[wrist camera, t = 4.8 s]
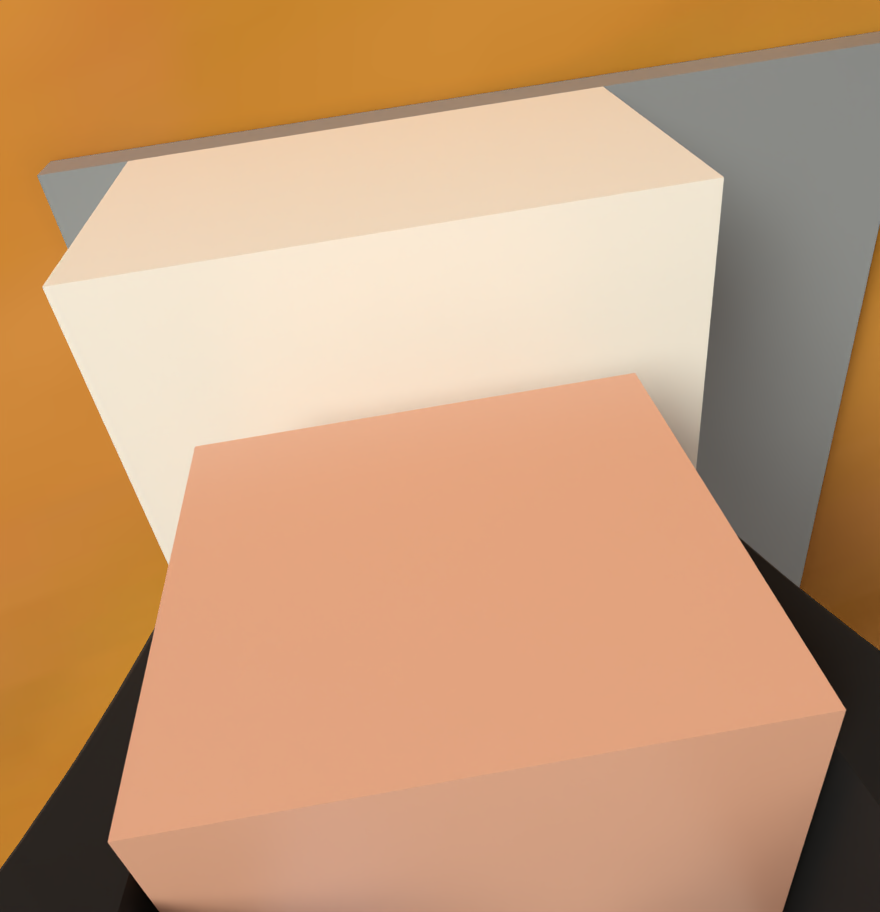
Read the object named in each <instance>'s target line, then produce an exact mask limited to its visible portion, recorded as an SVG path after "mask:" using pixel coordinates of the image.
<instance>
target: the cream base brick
mask: <svg viewBox="0 0 880 912" xmlns="http://www.w3.org/2000/svg"><path fill="white" fill-rule="evenodd" d="M723 183H724V177H723V176H722V175H720V174H719V173H718V172H716V171H715V170H714V169H712V168H711V167H710V166H708V165H707V164H706V163H704V162H703V161H702V160H700V159H699V158H698V157H696V156H695V155H694V154H692V153H691V152H690V151H688V150H687V149H686V148H684V147H683V146H682V145H680V144H679V143H678V142H676V141H675V140H674V139H672V138H671V137H670V136H668V135H667V134H666V133H664V132H663V131H662V130H660V129H659V128H658V127H656V126H655V125H654V124H652V123H651V122H650V121H648V120H647V119H646V118H644V117H643V116H642V115H640V114H639V113H638V112H636V111H635V110H634V109H632V108H631V107H630V106H628V105H627V104H626V103H624V102H623V101H622V100H620V99H619V98H618V97H616V96H615V95H614V94H612V93H611V92H610V91H608V90H607V89H606V88H604V87H596V88H590V89H584V90H577V91H571V92H565V93H558V94H552V95H546V96H539V97H533V98H526V99H520V100H514V101H507V102H501V103H495V104H488V105H482V106H476V107H469V108H463V109H457V110H450V111H444V112H437V113H431V114H425V115H418V116H412V117H406V118H399V119H393V120H387V121H380V122H374V123H368V124H361V125H355V126H349V127H342V128H336V129H329V130H323V131H317V132H310V133H304V134H298V135H291V136H285V137H279V138H272V139H266V140H260V141H253V142H247V143H240V144H234V145H228V146H221V147H215V148H209V149H202V150H196V151H190V152H183V153H177V154H171V155H164V156H158V157H152V158H145V159H139V160H132V161H128V162H127V163H126V165H125V166H124V168H123V169H122V171H121V172H120V174H119V175H118V176H117V178H116V179H115V181H114V182H113V184H112V185H111V187H110V188H109V190H108V191H107V193H106V194H105V196H104V197H103V199H102V200H101V201H100V203H99V204H98V206H97V207H96V209H95V210H94V212H93V213H92V215H91V216H90V218H89V219H88V221H87V222H86V223H85V225H84V226H83V228H82V229H81V231H80V232H79V234H78V235H77V237H76V238H75V240H74V241H73V243H72V244H71V246H70V247H69V248H68V250H67V251H66V253H65V254H64V256H63V257H62V259H61V260H60V262H59V263H58V265H57V266H56V268H55V269H54V270H53V272H52V273H51V275H50V276H49V278H48V279H47V281H46V282H45V284H44V285H43V290H44V292H45V294H46V296H47V298H48V301H49V303H50V305H51V307H52V309H53V312H54V314H55V316H56V318H57V320H58V323H59V325H60V327H61V329H62V331H63V334H64V336H65V338H66V340H67V342H68V345H69V347H70V349H71V351H72V353H73V356H74V358H75V360H76V362H77V364H78V367H79V369H80V371H81V373H82V375H83V378H84V380H85V382H86V384H87V386H88V389H89V391H90V393H91V395H92V397H93V400H94V402H95V404H96V406H97V408H98V411H99V413H100V415H101V417H102V419H103V422H104V424H105V426H106V428H107V430H108V433H109V435H110V437H111V439H112V441H113V444H114V446H115V448H116V450H117V452H118V455H119V457H120V459H121V461H122V463H123V466H124V468H125V470H126V472H127V474H128V477H129V479H130V481H131V483H132V485H133V488H134V490H135V492H136V494H137V496H138V499H139V501H140V503H141V505H142V507H143V510H144V512H145V514H146V516H147V518H148V521H149V523H150V525H151V527H152V529H153V532H154V534H155V536H156V538H157V540H158V543H159V545H160V547H161V549H162V551H163V554H164V556H165V558H166V560H167V562H168V565H169V562H170V557H171V553H172V548H173V544H174V539H175V535H176V530H177V525H178V521H179V516H180V512H181V507H182V503H183V498H184V494H185V489H186V485H187V480H188V476H189V471H190V467H191V462H192V457H193V453H194V448H195V446H201V445H207V444H213V443H219V442H225V441H231V440H237V439H243V438H249V437H255V436H261V435H267V434H273V433H279V432H285V431H291V430H297V429H303V428H309V427H315V426H321V425H327V424H333V423H339V422H345V421H351V420H357V419H362V418H368V417H374V416H380V415H386V414H392V413H398V412H404V411H410V410H416V409H422V408H428V407H434V406H440V405H446V404H452V403H458V402H464V401H470V400H476V399H482V398H488V397H494V396H500V395H506V394H512V393H518V392H524V391H530V390H536V389H542V388H548V387H554V386H560V385H566V384H572V383H578V382H583V381H589V380H595V379H601V378H607V377H613V376H619V375H625V374H631V373H636V375H637V377H638V378H639V380H640V381H641V383H642V385H643V386H644V388H645V389H646V391H647V393H648V394H649V396H650V397H651V399H652V401H653V402H654V404H655V405H656V407H657V409H658V410H659V412H660V413H661V415H662V417H663V418H664V420H665V421H666V423H667V425H668V426H669V428H670V429H671V431H672V433H673V434H674V436H675V437H676V439H677V441H678V442H679V444H680V445H681V447H682V449H683V450H684V452H685V453H686V455H687V457H688V458H689V460H690V461H691V463H692V465H693V466H694V468H695V469H696V465H697V454H698V444H699V433H700V423H701V413H702V402H703V392H704V381H705V371H706V360H707V350H708V339H709V329H710V319H711V308H712V298H713V287H714V277H715V266H716V256H717V245H718V235H719V224H720V214H721V204H722V193H723Z"/></svg>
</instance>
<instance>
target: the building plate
mask: <svg viewBox="0 0 880 912" xmlns="http://www.w3.org/2000/svg"><path fill="white" fill-rule="evenodd" d="M596 87H604V88H606V89H607V90H608V91H610V92H611V93H612V94H614V95H615V96H616V97H618V98H619V99H620V100H622V101H623V102H624V103H626V104H627V105H628V106H630V107H631V108H632V109H634V110H635V111H636V112H638V113H639V114H640V115H642V116H643V117H644V118H646V119H647V120H648V121H650V122H651V123H652V124H654V125H655V126H656V127H658V128H659V129H660V130H662V131H663V132H664V133H666V134H667V135H668V136H670V137H671V138H672V139H674V140H675V141H676V142H678V143H679V144H680V145H682V146H683V147H684V148H686V149H687V150H688V151H690V152H691V153H692V154H694V155H695V156H696V157H698V158H699V159H700V160H702V161H703V162H704V163H706V164H707V165H708V166H710V167H711V168H712V169H714V170H715V171H716V172H718V173H719V174H720V175H722V176H723V177H724V183H723V193H722V204H721V214H720V224H719V235H718V245H717V256H716V266H715V277H714V287H713V298H712V308H711V319H710V329H709V339H708V350H707V360H706V371H705V381H704V392H703V402H702V413H701V423H700V433H699V444H698V454H697V465H696V471H697V472H698V474H699V476H700V477H701V479H702V480H703V482H704V484H705V485H706V487H707V488H708V490H709V492H710V493H711V495H712V496H713V498H714V500H715V501H716V503H717V504H718V506H719V508H720V509H721V511H722V512H723V514H724V516H725V517H726V519H727V520H728V522H729V524H730V525H731V527H732V528H733V530H734V532H735V533H736V535H738V536H739V537H740V538H741V539H742V540H743V541H745V542H746V543H747V544H748V545H749V546H750V547H752V548H753V549H754V550H755V551H756V552H757V553H759V554H760V555H761V556H762V557H763V558H764V559H766V560H767V561H768V562H769V563H770V564H772V565H773V566H774V567H775V568H776V569H777V570H779V571H780V572H781V573H782V574H783V575H785V576H786V577H787V578H788V579H789V580H791V581H792V582H793V583H794V584H795V585H797V586H798V587H799V588H800V583H801V579H802V574H803V569H804V565H805V560H806V556H807V551H808V547H809V542H810V538H811V533H812V529H813V524H814V520H815V515H816V510H817V506H818V501H819V497H820V492H821V488H822V483H823V479H824V474H825V470H826V465H827V461H828V456H829V452H830V447H831V442H832V438H833V433H834V429H835V424H836V420H837V415H838V411H839V406H840V402H841V397H842V393H843V388H844V383H845V379H846V374H847V370H848V365H849V361H850V356H851V352H852V347H853V343H854V338H855V334H856V329H857V325H858V320H859V315H860V311H861V306H862V302H863V297H864V293H865V288H866V284H867V279H868V275H869V270H870V266H871V261H872V256H873V252H874V247H875V243H876V238H877V234H878V229H879V225H880V31H879V32H872V33H866V34H859V35H853V36H847V37H840V38H834V39H828V40H821V41H815V42H808V43H802V44H796V45H789V46H783V47H777V48H770V49H764V50H758V51H751V52H745V53H738V54H732V55H726V56H719V57H713V58H707V59H700V60H694V61H687V62H681V63H675V64H668V65H662V66H656V67H649V68H643V69H636V70H630V71H624V72H617V73H611V74H605V75H598V76H592V77H586V78H579V79H573V80H566V81H560V82H554V83H547V84H541V85H535V86H528V87H522V88H515V89H509V90H503V91H496V92H490V93H484V94H477V95H471V96H464V97H458V98H452V99H445V100H439V101H433V102H426V103H420V104H413V105H407V106H401V107H394V108H388V109H382V110H375V111H369V112H363V113H356V114H350V115H343V116H337V117H331V118H324V119H318V120H312V121H305V122H299V123H292V124H286V125H280V126H273V127H267V128H261V129H254V130H248V131H241V132H235V133H229V134H222V135H216V136H210V137H203V138H197V139H191V140H184V141H178V142H171V143H165V144H159V145H152V146H146V147H140V148H133V149H127V150H120V151H114V152H108V153H101V154H95V155H89V156H82V157H76V158H69V159H63V160H57V161H50V163H49V164H48V165H47V166H46V167H45V168H44V169H43V170H42V171H41V172H40V173H39V174H38V175H37V176H38V179H39V181H40V183H41V186H42V188H43V191H44V193H45V195H46V198H47V200H48V202H49V205H50V207H51V210H52V212H53V214H54V217H55V219H56V221H57V224H58V226H59V229H60V231H61V233H62V236H63V238H64V240H65V243H66V245H67V248H69V247H70V246H71V244H72V243H73V241H74V240H75V238H76V237H77V235H78V234H79V232H80V231H81V229H82V228H83V226H84V225H85V223H86V222H87V221H88V219H89V218H90V216H91V215H92V213H93V212H94V210H95V209H96V207H97V206H98V204H99V203H100V201H101V200H102V199H103V197H104V196H105V194H106V193H107V191H108V190H109V188H110V187H111V185H112V184H113V182H114V181H115V179H116V178H117V176H118V175H119V174H120V172H121V171H122V169H123V168H124V166H125V165H126V163H127V162H128V161H132V160H139V159H145V158H152V157H158V156H164V155H171V154H177V153H183V152H190V151H196V150H202V149H209V148H215V147H221V146H228V145H234V144H240V143H247V142H253V141H260V140H266V139H272V138H279V137H285V136H291V135H298V134H304V133H310V132H317V131H323V130H329V129H336V128H342V127H349V126H355V125H361V124H368V123H374V122H380V121H387V120H393V119H399V118H406V117H412V116H418V115H425V114H431V113H437V112H444V111H450V110H457V109H463V108H469V107H476V106H482V105H488V104H495V103H501V102H507V101H514V100H520V99H526V98H533V97H539V96H546V95H552V94H558V93H565V92H571V91H577V90H584V89H590V88H596Z"/></svg>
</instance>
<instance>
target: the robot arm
mask: <svg viewBox="0 0 880 912" xmlns="http://www.w3.org/2000/svg"><path fill="white" fill-rule="evenodd" d="M737 536H738V535H737ZM738 538H739V540H740V541H741V543H742V544H743V546H744V548H745V549H746V551H747V552H748V554H749V556H750V557H751V559H752V560H753V562H754V564H755V565H756V567H757V568H758V570H759V572H760V573H761V575H762V576H763V578H764V580H765V581H766V583H767V584H768V586H769V588H770V589H771V591H772V592H773V594H774V595H775V597H776V599H777V600H778V602H779V603H780V605H781V607H782V608H783V610H784V611H785V613H786V615H787V616H788V618H789V619H790V621H791V623H792V624H793V626H794V627H795V629H796V631H797V632H798V634H799V635H800V637H801V639H802V640H803V642H804V643H805V645H806V647H807V648H808V650H809V651H810V653H811V655H812V656H813V658H814V659H815V661H816V663H817V664H818V666H819V667H820V669H821V671H822V672H823V674H824V675H825V677H826V679H827V680H828V682H829V683H830V685H831V687H832V688H833V690H834V691H835V693H836V695H837V696H838V698H839V699H840V701H841V703H842V704H843V706H844V707H845V709H846V712H845V715H844V718H843V721H842V725H841V728H840V731H839V734H838V737H837V740H836V744H835V747H834V750H833V753H832V756H831V759H830V763H829V766H828V769H827V772H826V775H825V778H824V782H823V785H822V788H821V791H820V794H819V797H818V801H817V804H816V807H815V810H814V813H813V816H812V820H811V823H810V826H809V829H808V832H807V835H806V839H805V842H804V845H803V848H802V851H801V854H800V858H799V861H798V864H797V867H796V870H795V873H794V877H793V880H792V883H791V886H790V889H789V892H788V896H787V899H786V902H785V905H784V908H783V911H782V912H880V650H878V649H877V648H876V647H874V646H873V645H872V644H870V643H869V642H868V641H866V640H865V639H864V638H862V637H861V636H860V635H858V634H857V633H856V632H854V631H853V630H852V629H851V628H849V627H848V626H847V625H846V624H844V623H843V622H842V621H841V620H839V619H838V618H837V617H836V616H834V615H833V614H832V613H830V612H829V611H828V610H827V609H825V608H824V607H823V606H822V605H820V604H819V603H818V602H817V601H815V600H814V599H813V598H811V597H810V596H809V595H808V594H806V593H805V592H804V591H803V590H802V589H800V588H799V587H798V586H797V585H795V584H794V583H793V582H792V581H791V580H789V579H788V578H787V577H786V576H785V575H783V574H782V573H781V572H780V571H779V570H777V569H776V568H775V567H774V566H773V565H772V564H770V563H769V562H768V561H767V560H766V559H764V558H763V557H762V556H761V555H760V554H759V553H757V552H756V551H755V550H754V549H753V548H752V547H750V546H749V545H748V544H747V543H746V542H745V541H743V540H742V539H741V538H740V537H739V536H738ZM154 630H155V628H154ZM154 630H153V632H152V633H151V635H150V637H149V639H148V641H147V642H146V644H145V646H144V648H143V649H142V651H141V653H140V654H139V656H138V658H137V660H136V661H135V663H134V665H133V667H132V668H131V670H130V672H129V673H128V675H127V677H126V678H125V680H124V682H123V684H122V685H121V687H120V689H119V690H118V692H117V694H116V695H115V697H114V699H113V700H112V702H111V703H110V705H109V707H108V708H107V710H106V712H105V713H104V715H103V716H102V718H101V720H100V721H99V723H98V724H97V726H96V728H95V729H94V731H93V732H92V734H91V736H90V737H89V739H88V741H87V742H86V744H85V745H84V747H83V749H82V750H81V752H80V753H79V755H78V757H77V758H76V760H75V761H74V763H73V764H72V766H71V767H70V769H69V770H68V772H67V773H66V775H65V776H64V778H63V779H62V781H61V782H60V784H59V785H58V787H57V788H56V790H55V791H54V793H53V794H52V795H51V797H50V798H49V800H48V801H47V803H46V804H45V806H44V807H43V809H42V810H41V812H40V813H39V815H38V816H37V818H36V819H35V820H34V822H33V823H32V825H31V826H30V828H29V829H28V831H27V832H26V834H25V835H24V837H23V838H22V840H21V841H20V842H19V844H18V845H17V847H16V848H15V849H14V851H13V852H12V854H11V855H10V856H9V858H8V859H7V860H6V862H5V863H4V864H3V866H2V867H1V869H0V912H159V911H158V909H157V908H156V907H155V905H154V904H153V903H152V901H151V900H150V899H149V897H148V896H147V895H146V893H145V892H144V891H143V889H142V888H141V887H140V885H139V884H138V883H137V881H136V880H135V878H134V877H133V876H132V874H131V873H130V872H129V870H128V869H127V868H126V866H125V865H124V864H123V862H122V861H121V860H120V858H119V857H118V856H117V854H116V853H115V852H114V850H113V849H112V848H111V846H110V845H109V844H108V838H109V834H110V829H111V825H112V820H113V816H114V811H115V806H116V802H117V797H118V793H119V788H120V784H121V779H122V775H123V770H124V766H125V761H126V757H127V752H128V748H129V743H130V738H131V734H132V729H133V725H134V720H135V716H136V711H137V707H138V702H139V698H140V693H141V689H142V684H143V680H144V675H145V670H146V666H147V661H148V657H149V652H150V648H151V643H152V639H153V634H154Z"/></svg>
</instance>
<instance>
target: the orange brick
mask: <svg viewBox="0 0 880 912" xmlns="http://www.w3.org/2000/svg"><path fill="white" fill-rule="evenodd" d="M845 712H846V709H845V707H844V706H843V704H842V703H841V701H840V699H839V698H838V696H837V695H836V693H835V691H834V690H833V688H832V687H831V685H830V683H829V682H828V680H827V679H826V677H825V675H824V674H823V672H822V671H821V669H820V667H819V666H818V664H817V663H816V661H815V659H814V658H813V656H812V655H811V653H810V651H809V650H808V648H807V647H806V645H805V643H804V642H803V640H802V639H801V637H800V635H799V634H798V632H797V631H796V629H795V627H794V626H793V624H792V623H791V621H790V619H789V618H788V616H787V615H786V613H785V611H784V610H783V608H782V607H781V605H780V603H779V602H778V600H777V599H776V597H775V595H774V594H773V592H772V591H771V589H770V588H769V586H768V584H767V583H766V581H765V580H764V578H763V576H762V575H761V573H760V572H759V570H758V568H757V567H756V565H755V564H754V562H753V560H752V559H751V557H750V556H749V554H748V552H747V551H746V549H745V548H744V546H743V544H742V543H741V541H740V540H739V538H738V536H737V535H736V533H735V532H734V530H733V528H732V527H731V525H730V524H729V522H728V520H727V519H726V517H725V516H724V514H723V512H722V511H721V509H720V508H719V506H718V504H717V503H716V501H715V500H714V498H713V496H712V495H711V493H710V492H709V490H708V488H707V487H706V485H705V484H704V482H703V480H702V479H701V477H700V476H699V474H698V472H697V471H696V469H695V468H694V466H693V465H692V463H691V461H690V460H689V458H688V457H687V455H686V453H685V452H684V450H683V449H682V447H681V445H680V444H679V442H678V441H677V439H676V437H675V436H674V434H673V433H672V431H671V429H670V428H669V426H668V425H667V423H666V421H665V420H664V418H663V417H662V415H661V413H660V412H659V410H658V409H657V407H656V405H655V404H654V402H653V401H652V399H651V397H650V396H649V394H648V393H647V391H646V389H645V388H644V386H643V385H642V383H641V381H640V380H639V378H638V377H637V375H636V373H631V374H625V375H619V376H613V377H607V378H601V379H595V380H589V381H583V382H578V383H572V384H566V385H560V386H554V387H548V388H542V389H536V390H530V391H524V392H518V393H512V394H506V395H500V396H494V397H488V398H482V399H476V400H470V401H464V402H458V403H452V404H446V405H440V406H434V407H428V408H422V409H416V410H410V411H404V412H398V413H392V414H386V415H380V416H374V417H368V418H362V419H357V420H351V421H345V422H339V423H333V424H327V425H321V426H315V427H309V428H303V429H297V430H291V431H285V432H279V433H273V434H267V435H261V436H255V437H249V438H243V439H237V440H231V441H225V442H219V443H213V444H207V445H201V446H195V448H194V453H193V457H192V462H191V467H190V471H189V476H188V480H187V485H186V489H185V494H184V498H183V503H182V507H181V512H180V516H179V521H178V525H177V530H176V535H175V539H174V544H173V548H172V553H171V557H170V562H169V566H168V571H167V575H166V580H165V584H164V589H163V593H162V598H161V602H160V607H159V612H158V616H157V621H156V625H155V630H154V634H153V639H152V643H151V648H150V652H149V657H148V661H147V666H146V670H145V675H144V680H143V684H142V689H141V693H140V698H139V702H138V707H137V711H136V716H135V720H134V725H133V729H132V734H131V738H130V743H129V748H128V752H127V757H126V761H125V766H124V770H123V775H122V779H121V784H120V788H119V793H118V797H117V802H116V806H115V811H114V816H113V820H112V825H111V829H110V834H109V838H108V844H109V845H110V846H111V848H112V849H113V850H114V852H115V853H116V854H117V856H118V857H119V858H120V860H121V861H122V862H123V864H124V865H125V866H126V868H127V869H128V870H129V872H130V873H131V874H132V876H133V877H134V878H135V880H136V881H137V883H138V884H139V885H140V887H141V888H142V889H143V891H144V892H145V893H146V895H147V896H148V897H149V899H150V900H151V901H152V903H153V904H154V905H155V907H156V908H157V909H158V911H159V912H782V911H783V908H784V905H785V902H786V899H787V896H788V892H789V889H790V886H791V883H792V880H793V877H794V873H795V870H796V867H797V864H798V861H799V858H800V854H801V851H802V848H803V845H804V842H805V839H806V835H807V832H808V829H809V826H810V823H811V820H812V816H813V813H814V810H815V807H816V804H817V801H818V797H819V794H820V791H821V788H822V785H823V782H824V778H825V775H826V772H827V769H828V766H829V763H830V759H831V756H832V753H833V750H834V747H835V744H836V740H837V737H838V734H839V731H840V728H841V725H842V721H843V718H844V715H845Z"/></svg>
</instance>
